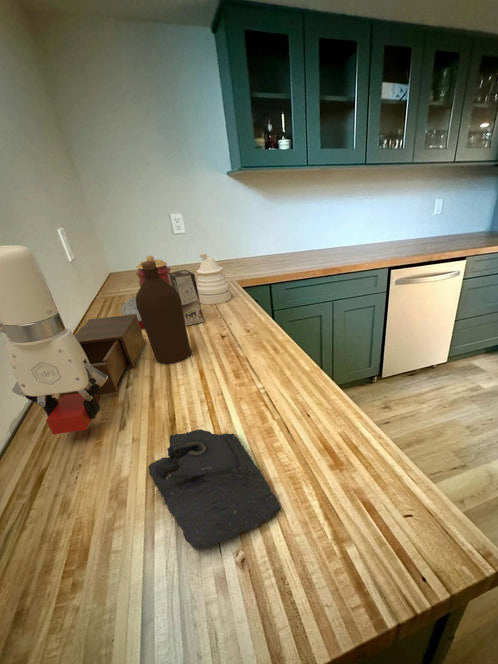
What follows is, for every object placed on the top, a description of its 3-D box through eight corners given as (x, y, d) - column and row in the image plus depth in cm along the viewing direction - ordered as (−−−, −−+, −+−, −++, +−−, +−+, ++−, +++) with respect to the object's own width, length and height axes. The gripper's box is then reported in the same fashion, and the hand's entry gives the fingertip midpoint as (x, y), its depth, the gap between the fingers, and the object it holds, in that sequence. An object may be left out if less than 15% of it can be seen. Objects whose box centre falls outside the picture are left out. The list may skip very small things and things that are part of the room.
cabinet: (133, 368, 88) (122, 336, 83) (81, 375, 86) (67, 343, 81) (145, 342, 102) (136, 313, 97) (100, 348, 100) (89, 319, 95)
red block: (86, 429, 61) (80, 415, 59) (53, 434, 60) (45, 420, 58) (99, 404, 67) (94, 391, 66) (69, 408, 66) (63, 395, 65)
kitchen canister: (173, 293, 146) (162, 251, 137) (181, 300, 136) (170, 255, 128) (142, 299, 141) (128, 255, 132) (147, 307, 131) (134, 260, 122)
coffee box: (205, 321, 114) (195, 273, 106) (186, 326, 111) (174, 277, 103) (196, 314, 121) (185, 268, 113) (178, 318, 118) (166, 272, 110)
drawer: (112, 402, 72) (100, 373, 69) (54, 411, 71) (39, 381, 67) (132, 361, 89) (123, 336, 85) (85, 367, 87) (74, 342, 83)
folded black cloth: (179, 575, 40) (170, 552, 38) (147, 464, 57) (139, 442, 54) (290, 514, 47) (287, 491, 44) (232, 430, 63) (228, 410, 61)
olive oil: (171, 368, 86) (143, 269, 74) (144, 359, 91) (114, 265, 79) (201, 351, 94) (180, 259, 81) (175, 344, 99) (152, 256, 86)
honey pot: (215, 305, 128) (206, 257, 119) (192, 301, 134) (181, 254, 125) (237, 296, 138) (230, 250, 128) (215, 292, 144) (206, 248, 135)
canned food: (157, 331, 121) (165, 307, 117) (143, 340, 112) (150, 314, 108) (128, 317, 120) (134, 292, 116) (110, 325, 111) (116, 298, 107)
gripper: (-41, 343, 50) (16, 437, 59) (85, 330, 52) (120, 422, 62) (-11, 325, 56) (35, 412, 65) (100, 314, 59) (129, 399, 68)
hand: (76, 416), depth 63 cm, fingers closed on red block, 5 cm apart
